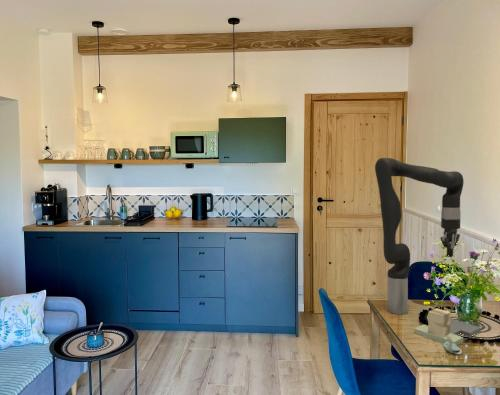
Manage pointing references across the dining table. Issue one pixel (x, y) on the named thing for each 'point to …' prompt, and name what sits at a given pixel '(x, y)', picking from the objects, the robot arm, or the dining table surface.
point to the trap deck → (455, 329)
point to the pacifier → (451, 346)
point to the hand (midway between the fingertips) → (449, 256)
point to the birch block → (439, 322)
